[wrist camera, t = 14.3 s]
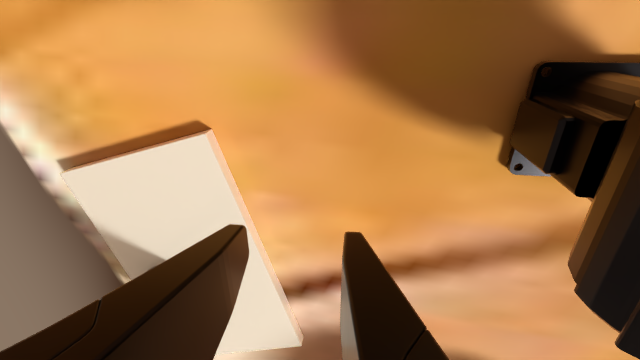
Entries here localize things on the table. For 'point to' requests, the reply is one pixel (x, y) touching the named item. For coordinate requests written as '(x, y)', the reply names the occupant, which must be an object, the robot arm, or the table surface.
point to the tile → (184, 226)
